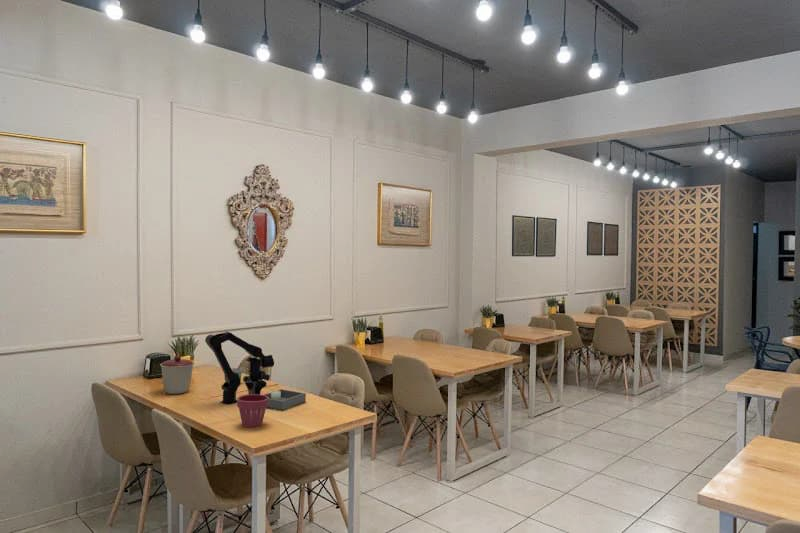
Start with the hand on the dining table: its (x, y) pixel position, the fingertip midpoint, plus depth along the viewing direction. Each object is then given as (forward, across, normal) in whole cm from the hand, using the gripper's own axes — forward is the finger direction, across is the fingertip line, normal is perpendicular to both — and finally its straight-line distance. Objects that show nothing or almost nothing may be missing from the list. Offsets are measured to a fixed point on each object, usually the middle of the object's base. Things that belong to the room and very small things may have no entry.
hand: (254, 396), depth 303 cm
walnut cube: (+1, 0, 0) cm, 1 cm away
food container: (+1, +37, -4) cm, 37 cm away
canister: (+1, +36, +31) cm, 48 cm away
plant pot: (+1, -43, +20) cm, 48 cm away
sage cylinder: (0, -21, -3) cm, 21 cm away
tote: (+1, -19, -8) cm, 20 cm away
